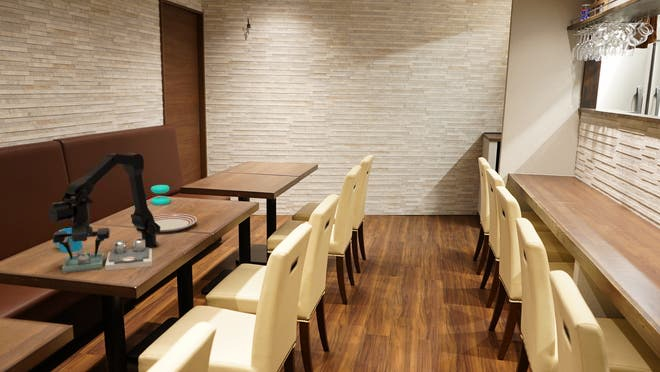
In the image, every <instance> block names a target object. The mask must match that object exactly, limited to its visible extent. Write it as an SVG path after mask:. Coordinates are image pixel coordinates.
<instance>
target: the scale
mask: <svg viewBox="0 0 660 372" xmlns="http://www.w3.org/2000/svg"><path fill="white" fill-rule="evenodd" d="M105 261H106V262H105V266H104V267H105V271H106V272H107V271H116V270H126V269H136V268H148V267H153V248H149V247H146V250H145V251H142V252H134V251H133V248H126V252H125V253H121V254H115V253H114V249H111V251H110V252H108V253H107V258H106V260H105Z"/></svg>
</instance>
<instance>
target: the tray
mask: <svg viewBox="0 0 660 372" xmlns="http://www.w3.org/2000/svg"><path fill="white" fill-rule="evenodd" d="M65 258H66V259H65V260H64V263H63V264H62V266H61V267H62V269H61V270H62V273H70V272H71V273H72V272H83V271H95V270H103V267H104V261H105V258H106V257H105V252H101V253H99V252H98V253H97V256H96V257H95V253H91V264H85V265H78V258H77V254H75V255H73V258H72V259H71V257H70V255H67V256H66V257H65Z"/></svg>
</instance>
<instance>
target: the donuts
mask: <svg viewBox="0 0 660 372" xmlns="http://www.w3.org/2000/svg"><path fill="white" fill-rule="evenodd" d="M150 191H151V192H153V194H165V193H168V192H169V191H170V186H169V185H167V184H166V185H165V184H157V185H153V186H151V188H150ZM151 203H152V205H155V206H163V205H168V204H170V203H171V199H170V197H169V196H160V195H159V196H156V197H153V198H152V200H151Z"/></svg>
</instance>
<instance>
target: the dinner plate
mask: <svg viewBox="0 0 660 372" xmlns="http://www.w3.org/2000/svg"><path fill="white" fill-rule="evenodd" d="M153 218H154V221H155V223H157V224H158V225H159V226H160V227H161V228H160V232H159V233H170V232H176V231H181V230H182V231H183V230H184V229H186V228H188V227H191V226H192V225H194V224H196V223H197V220H198V219H197V217H196V216H194V215H192V214H187V213H164V214H163V213H162V214H156V215H153Z"/></svg>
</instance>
